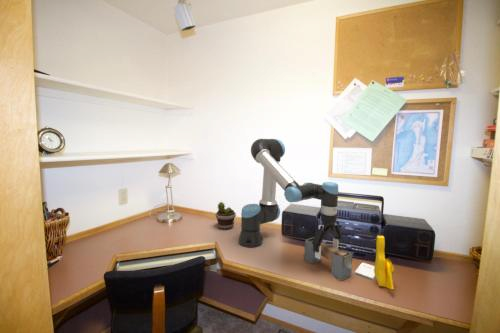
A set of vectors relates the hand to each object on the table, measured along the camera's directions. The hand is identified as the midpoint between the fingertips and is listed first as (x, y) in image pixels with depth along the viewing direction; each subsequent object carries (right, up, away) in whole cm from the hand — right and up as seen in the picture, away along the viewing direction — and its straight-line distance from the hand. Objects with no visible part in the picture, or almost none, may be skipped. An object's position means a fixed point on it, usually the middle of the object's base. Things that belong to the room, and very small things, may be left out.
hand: (326, 254), depth 118 cm
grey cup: (+4, -8, -6) cm, 11 cm away
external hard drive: (+19, -8, -3) cm, 21 cm away
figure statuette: (+21, -9, -13) cm, 26 cm away
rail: (0, -1, 0) cm, 1 cm away
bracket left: (-5, -6, +7) cm, 10 cm away
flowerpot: (-57, 0, +54) cm, 78 cm away
